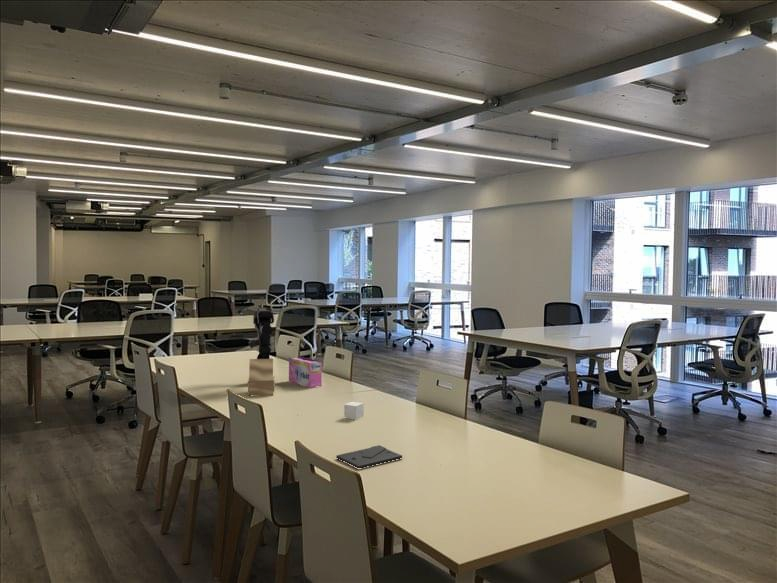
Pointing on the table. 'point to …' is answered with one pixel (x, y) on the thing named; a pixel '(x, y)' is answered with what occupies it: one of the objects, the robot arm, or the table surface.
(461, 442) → the table surface
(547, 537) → the table surface
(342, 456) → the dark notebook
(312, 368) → the gum box
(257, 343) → the robot arm
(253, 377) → the flap
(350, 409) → the white cube
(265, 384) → the carton
